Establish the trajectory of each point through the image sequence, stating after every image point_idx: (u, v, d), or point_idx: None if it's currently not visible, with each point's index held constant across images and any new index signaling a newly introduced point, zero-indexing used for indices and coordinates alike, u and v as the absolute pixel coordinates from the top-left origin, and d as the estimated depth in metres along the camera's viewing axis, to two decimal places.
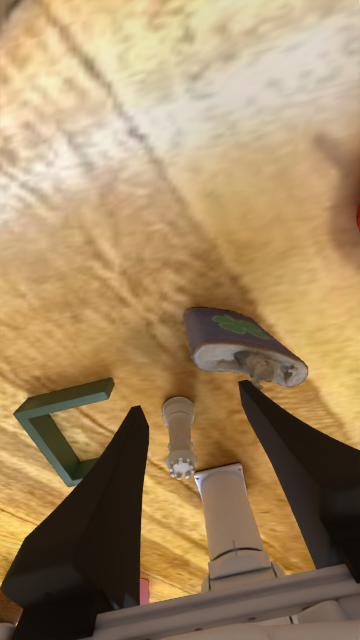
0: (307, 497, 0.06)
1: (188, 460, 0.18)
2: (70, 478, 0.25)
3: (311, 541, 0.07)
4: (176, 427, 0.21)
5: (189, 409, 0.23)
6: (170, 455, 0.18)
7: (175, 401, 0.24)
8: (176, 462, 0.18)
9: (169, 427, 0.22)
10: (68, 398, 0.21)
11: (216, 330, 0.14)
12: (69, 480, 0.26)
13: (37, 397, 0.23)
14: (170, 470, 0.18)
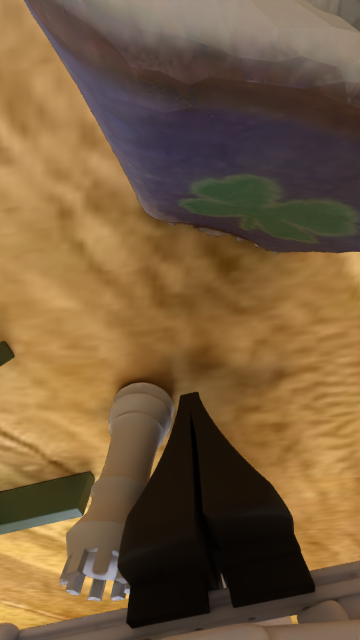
0: None
1: (117, 555, 0.06)
2: None
3: None
4: (119, 448, 0.09)
5: (158, 408, 0.11)
6: (72, 532, 0.07)
7: (134, 391, 0.12)
8: (76, 563, 0.06)
9: (110, 444, 0.10)
10: None
11: None
12: None
13: None
14: (63, 581, 0.06)
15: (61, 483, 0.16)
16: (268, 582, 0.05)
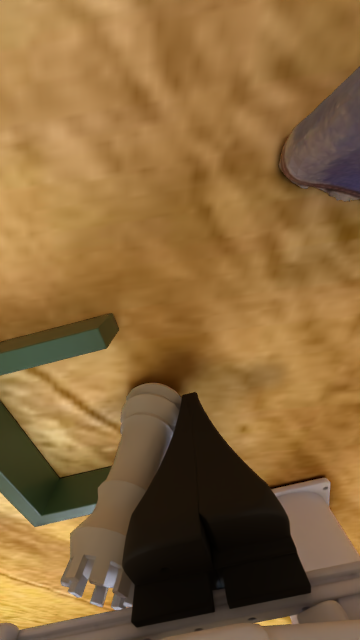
0: None
1: (116, 566, 0.06)
2: (37, 512, 0.14)
3: None
4: (126, 450, 0.09)
5: (169, 411, 0.11)
6: (74, 534, 0.07)
7: (145, 391, 0.12)
8: (75, 569, 0.06)
9: (119, 444, 0.10)
10: (17, 347, 0.09)
11: None
12: (35, 515, 0.14)
13: None
14: (64, 583, 0.06)
15: None
16: (264, 583, 0.05)
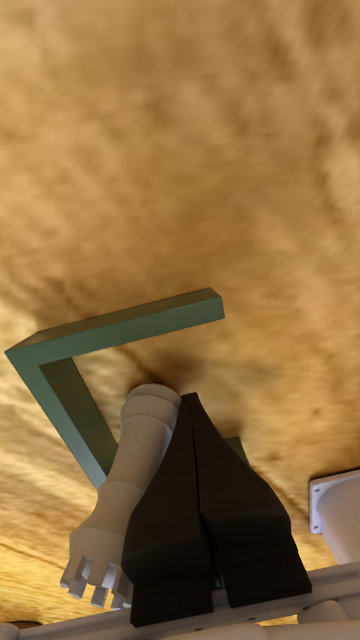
0: None
1: (114, 566, 0.06)
2: None
3: None
4: (125, 451, 0.09)
5: (167, 411, 0.11)
6: (73, 535, 0.07)
7: (144, 392, 0.12)
8: (73, 570, 0.06)
9: (119, 445, 0.10)
10: (132, 317, 0.09)
11: None
12: None
13: (57, 328, 0.11)
14: (63, 584, 0.06)
15: None
16: (265, 582, 0.05)
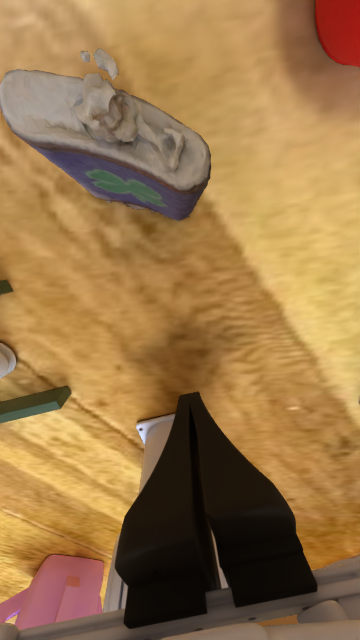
0: None
1: None
2: None
3: None
4: None
5: None
6: None
7: None
8: None
9: None
10: None
11: None
12: None
13: None
14: None
15: (46, 392, 0.22)
16: (270, 582, 0.05)
